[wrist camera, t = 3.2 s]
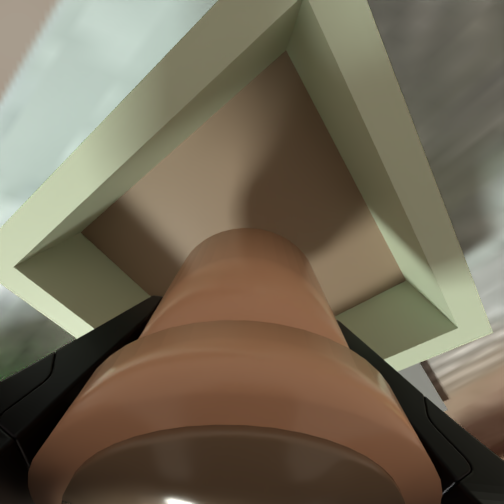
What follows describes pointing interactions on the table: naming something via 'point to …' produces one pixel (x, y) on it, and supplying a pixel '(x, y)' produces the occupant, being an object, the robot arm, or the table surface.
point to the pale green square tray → (256, 182)
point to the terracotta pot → (236, 399)
